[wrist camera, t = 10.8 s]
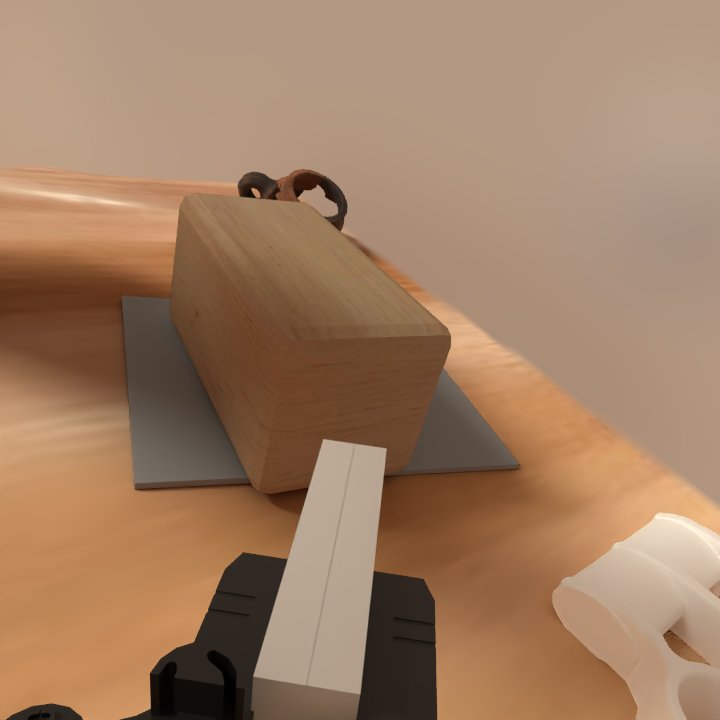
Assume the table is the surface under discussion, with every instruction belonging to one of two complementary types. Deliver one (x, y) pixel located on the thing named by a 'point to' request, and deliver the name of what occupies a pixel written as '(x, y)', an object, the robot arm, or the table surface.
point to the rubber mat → (209, 439)
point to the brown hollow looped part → (294, 189)
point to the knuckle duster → (653, 615)
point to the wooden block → (299, 337)
